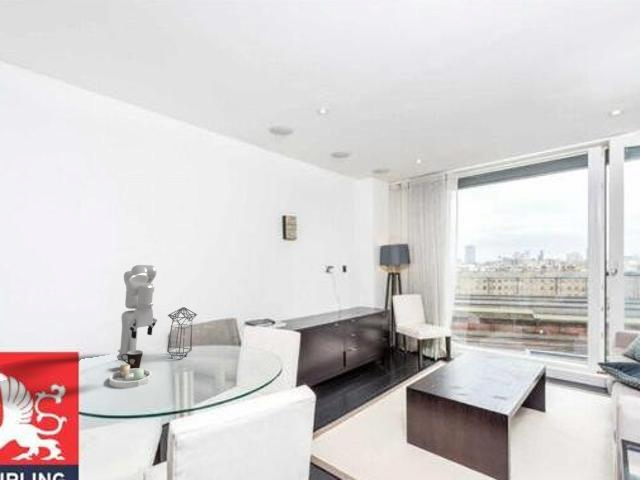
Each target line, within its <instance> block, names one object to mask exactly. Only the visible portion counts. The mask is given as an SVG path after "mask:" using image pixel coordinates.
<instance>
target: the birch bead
mask: <svg viewBox="0 0 640 480" xmlns="http://www.w3.org/2000/svg"><path fill="white" fill-rule="evenodd" d="M119 371H120V375H119V377H121V378H125V375H126V374H129V372H130V365H129V364H127V363H124V364H120V365H119Z"/></svg>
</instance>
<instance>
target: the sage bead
mask: <svg viewBox="0 0 640 480" xmlns="http://www.w3.org/2000/svg"><path fill="white" fill-rule="evenodd" d="M143 369H144V368H140V369H136V370H134V376H133V381H137V380H141V379H143V374H144V370H143Z"/></svg>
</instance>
